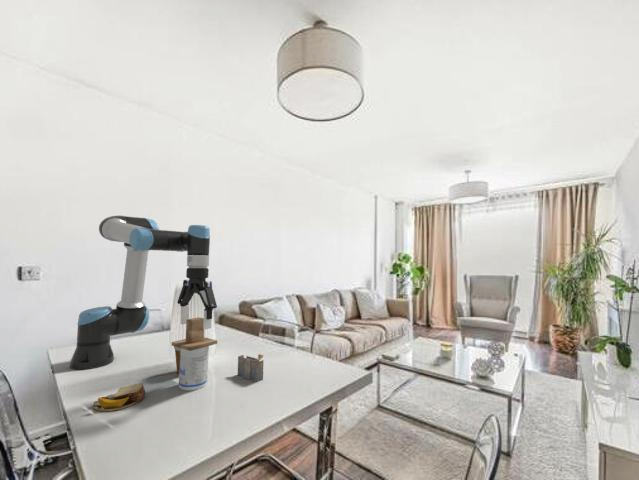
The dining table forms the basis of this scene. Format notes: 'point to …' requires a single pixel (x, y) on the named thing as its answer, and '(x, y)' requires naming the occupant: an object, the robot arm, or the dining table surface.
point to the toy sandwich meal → (121, 398)
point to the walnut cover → (194, 336)
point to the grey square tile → (156, 384)
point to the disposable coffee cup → (177, 358)
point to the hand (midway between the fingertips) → (195, 326)
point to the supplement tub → (193, 368)
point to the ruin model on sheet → (250, 367)
